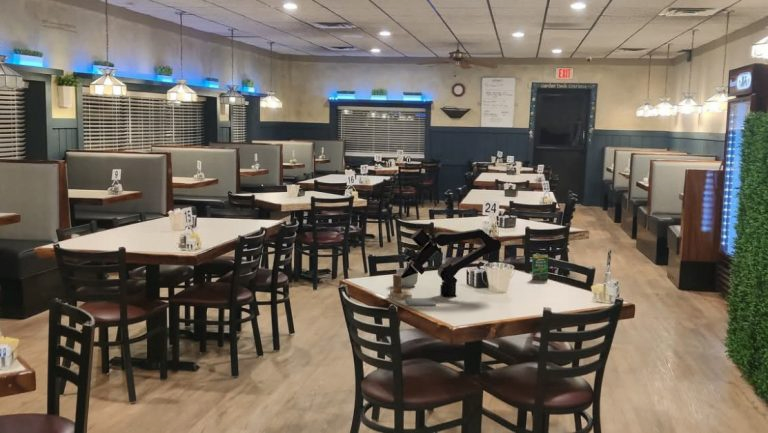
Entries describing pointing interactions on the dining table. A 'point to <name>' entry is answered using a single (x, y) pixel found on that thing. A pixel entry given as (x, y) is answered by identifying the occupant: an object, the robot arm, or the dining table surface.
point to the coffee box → (540, 267)
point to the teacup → (407, 278)
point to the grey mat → (420, 302)
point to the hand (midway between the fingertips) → (401, 277)
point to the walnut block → (397, 283)
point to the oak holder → (401, 294)
